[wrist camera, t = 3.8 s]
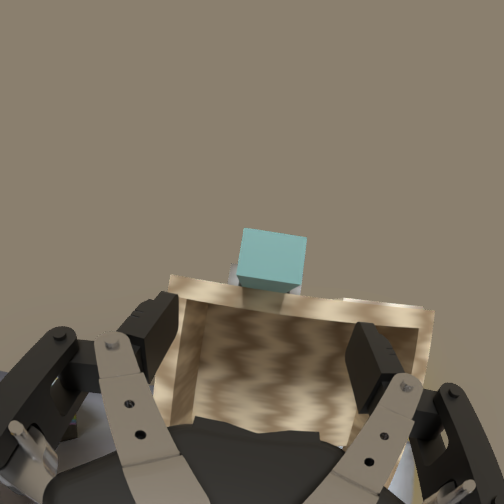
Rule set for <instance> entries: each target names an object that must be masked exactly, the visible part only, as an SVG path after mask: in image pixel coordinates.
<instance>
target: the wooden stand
mask: <svg viewBox="0 0 504 504" xmlns="http://www.w3.org/2000/svg"><path fill="white" fill-rule="evenodd" d="M237 267H238V264H232V263H231V267H230V273H229V279H228V284H222V283H216V282H211V281H204V280H198V279H193V278H188V277H182V276H177V275H171V276H170V281H169V287H168V292H170V293H174V294H178V296H179V326H178V332H177V335H176V337H175V339H174V341H173V343H172V344H171V346H170V348H169V350H168V352H167V353H166V355H165V357H164V359H163V361H162V362H161V364H160V366H159V368H158V370H157V372H156V376H155V385H154V396H153V398H154V400H155V402H156V405H157V407H158V409H159V411H160V414H161V416H162V418H163V420H164V422H165V425H166V427H169V426H173V425H179V424H193V421H194V418H195V416H198V417H203V418H208V419H213V420H218V421H223V422H227V423H230V424H232V425H235V426H238V427H240V428H243V429H246V430H249V431H252V432H255V433H268V432H278V431H287V430H295V431H313V432H319V434H320V440H321V441H325V442H328V443H330V444H333V445H335V446H343V449H342V450H343V451H346V450H347V449H348V447H349V446H350V445H351V443H352V442H353V440H354V439H355V438H356V436H357V435H358V433H359V432H360V430H361V429H362V427H363V426H364V424H365V423H366V421H367V420H368V418H369V414H358V410H357V405H356V401H355V397H354V393H353V390H352V386H351V382H350V378H349V374H348V371H347V367H346V363H345V352H346V348H347V346H348V343H349V340H350V338H351V335H352V332H353V329H354V327H355V324H356V323H357V322H368V323H374V325H375V327H376V329H377V331H378V333H379V334H382V335H383V336H384V337H385V338H387V339H388V340H389V342H390V344H391V345H392V347H393V350H394V351H395V353H396V356H397V357H398V359H399V361H400V363H401V365H402V367H403V369H404V371H405V373H408V374H411V375H413V376H415V377H416V378H418V379H419V380H420V382H421V383H422V385H423V382H424V378H425V373H426V368H427V363H428V357H429V351H430V345H431V338H432V330H433V323H434V313H435V311H433V310H423V308H424V307H422V306H412V305H402V304H393V303H383V302H375V301H366V300H357V299H350V298H339V299H332V300H331V299H324V298H316V297H308V296H301V295H300V292H301V285H300V286H298V287H296V288H294V289H292V290H290V291H289V292H287V293H280V292H273V291H267V290H260V289H253V288H247V287H242V285H241V283H240V281H239V279H238V277H237V276H236V273H237ZM302 277H303V275H302ZM301 284H302V282H301ZM407 440H408V439H407ZM406 443H407V442H406ZM405 445H406V444H405ZM404 448H405V446H404ZM404 448H403V450H402V452H401V454H400V456H399V458H398V460H397V462H396V464H395V466H394V468H393V470H392V472H391V474H390V476H389V478H388V479H387V481H386V483H385V485H384V486H385V487H386V488H387V489H388V487H389V485H390V483H391V481H392V479H393V476H394V474H395V471H396V469H397V467H398V464H399V462H400V459H401V456H402V454H403V451H404Z"/></svg>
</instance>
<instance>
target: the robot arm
mask: <svg viewBox="0 0 504 504" xmlns="http://www.w3.org/2000/svg"><path fill="white" fill-rule="evenodd" d="M178 326H179V296H178V294H174V293H170V292H164V291H161V292H160V293H159V295H158V296H157V297H156V298H155V299H154V300H151V299H149V300H147V301H145V302H143V303H141V304H140V305H139V306H138V307H137V308H136V309H135V311H133V312H132V314H131V316H129V317H128V318H127V319H126V320H125V322H124V323H123V324H122V325H121V326H120V327H119V329H118V330H117V331H109V332H105V333H102V334H100V335H99V336H98V337H97V338H96V339H95V341H88V340H77V336H76V333H75V332H74V330H73V329H71V328H69V327H63V326H61V327H55V328H53V329H51V330H49V331H48V332H47V333H46V334H45V335H44V336H43V337H42V338H41V339H40V340H39V341H38V342H37V343H36V344H35V345H34V346H33V347H32V348H31V349H30V350H29V351H28V352H27V353H26V354H25V356H23V357H22V359H21V360H20V361H19V362H18V363H17V364H16V365H15V366H14V367H13V368H12V369H11V371H10V372H9V373H8V374H7V375H6V376H5V377H4V378H3V380H2V381H1V382H0V482H1V483H3V484H5V485H6V486H7V487H8V488H10V489H11V490H12V491H13V492H15V493H17V494H19V495H25V496H27V497H28V498H30V499H31V500H33V501H34V502H36V503H37V504H405V503H404V502H403V501H401V500H400V499H399V498H398V497H396V496H395V495H394V494H393V493H392V492H390V491H389V490H388V489H387V488H386V487H385V486H384V485H385V483H386V481H387V479H388V478H389V476H390V474H391V472H392V470H393V468H394V466H395V464H396V462H397V460H398V458H399V456H400V454H401V452H402V450H403V448H404V446H405V444H406V442H407V439H408V437H409V440H410V444H411V448H412V452H413V456H414V460H415V464H416V468H417V473H418V477H419V481H420V487H421V491H422V497H423V503H422V504H504V479H503V476H502V473H501V470H500V468H499V465H498V462H497V460H496V457H495V455H494V452H493V450H492V448H491V445H490V443H489V441H488V438H487V436H486V434H485V432H484V430H483V428H482V425H481V423H480V421H479V419H478V417H477V415H476V413H475V411H474V409H473V407H472V405H471V403H470V401H469V399H468V398H467V396H466V394H465V392H464V391H463V389H462V388H460V387H459V386H458V385H456V384H453V383H444V384H443V385H442V386H441V387H440V389H439V390H438V391H431V390H427V389H423V385H422V383H421V382H420V380H419V379H418V378H416V377H415V376H413V375H411V374H408V373H405V371H404V369H403V367H402V365H401V363H400V361H399V359H398V357H397V356H396V353H395V351H394V350H393V347H392V345H391V344H390V342H389V340H388V339H387V338H385V337H384V336H383V335H382V334H379V333H378V331H377V329H376V327H375V325H374V323H368V322H357V323H356V324H355V327H354V329H353V332H352V335H351V338H350V340H349V343H348V346H347V348H346V352H345V363H346V367H347V371H348V374H349V378H350V382H351V386H352V390H353V393H354V397H355V401H356V405H357V410H358V414H369V418H368V420H367V421H366V423H365V424H364V426H363V427H362V429H361V430H360V432H359V433H358V435H357V436H356V438H355V439H354V440H353V442H352V443H351V445H350V446H349V447H348V449H347V450H346V451H343V450H342V449H340V448H339V447H337V446H335V445H333V444H330V443H328V442H325V441H321V440H320V434H319V432H313V431H295V430H287V431H278V432H268V433H255V432H252V431H249V430H246V429H243V428H240V427H238V426H235V425H232V424H230V423H227V422H223V421H218V420H213V419H208V418H203V417H198V416H195V418H194V421H193V424H179V425H173V426H169V427H166V425H165V422H164V420H163V418H162V416H161V414H160V411H159V409H158V407H157V405H156V402H155V400H154V398H153V395H152V393H151V390H150V388H149V385H148V384H150V383H151V381H152V379H153V377H154V375H155V373H156V372H157V370H158V368H159V366H160V364H161V362H162V361H163V359H164V357H165V355H166V353H167V352H168V350H169V348H170V346H171V344H172V343H173V341H174V339H175V337H176V335H177V332H178ZM57 377H58V378H57ZM56 378H57V380H56V381H55V379H56ZM54 381H55V382H54ZM53 382H54V384H53V385H52V383H53ZM51 385H52V386H51ZM89 392H92V393H101V394H102V398H103V402H104V407H105V411H106V415H107V419H108V423H109V426H110V430H111V433H112V437H113V440H114V443H115V446H116V450H117V451H114V452H112V453H110V454H107V455H105V456H103V457H100V458H98V459H96V460H93V461H91V462H88V463H86V464H83V465H80V466H78V467H75V468H72V469H70V470H67V471H64V472H62V473H60V474H58V475H56V473H57V467H58V456H57V454H56V452H55V449H56V447H57V445H58V444H59V442H60V440H61V438H62V437H63V435H64V433H65V431H66V430H67V428H68V426H69V424H70V423H71V421H72V419H73V418H74V416H75V414H76V413H77V411H78V409H79V408H80V406H81V404H82V403H83V401H84V399H85V398H86V396H87V395H88V393H89ZM444 429H445V431H446V434H447V436H448V440H449V444H448V447H447V449H446V448H445V445H444V442H443V440H442V437H441V434H440V433H441V432H442V431H443V430H444Z"/></svg>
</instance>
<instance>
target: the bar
mask: <svg viewBox="0 0 504 504" xmlns="http://www.w3.org/2000/svg"><path fill="white" fill-rule="evenodd" d="M306 241H307V238H306V237H301V236H294V235H288V234H282V233H275V232H268V231H262V230H256V229H249V228H244V231H243V238H242V243H241V249H240V255H239V261H238V267H237V273H236V276H237V277H238V279H239V281H240V283H241V285H242V287H247V288H253V289H260V290H267V291H273V292H280V293H287V292H289V291H290V290H292V289H294V288H296V287H298V286H300V285H301V282H302V275H303V267H304V258H305V250H306Z"/></svg>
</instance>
